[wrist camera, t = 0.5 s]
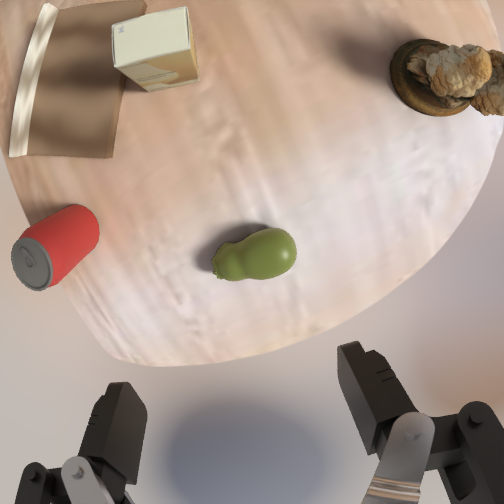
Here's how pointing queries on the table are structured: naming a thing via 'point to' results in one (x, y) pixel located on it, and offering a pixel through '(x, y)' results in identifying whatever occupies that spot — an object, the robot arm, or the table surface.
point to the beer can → (54, 247)
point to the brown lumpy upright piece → (448, 78)
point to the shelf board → (71, 82)
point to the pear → (256, 256)
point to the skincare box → (156, 49)
